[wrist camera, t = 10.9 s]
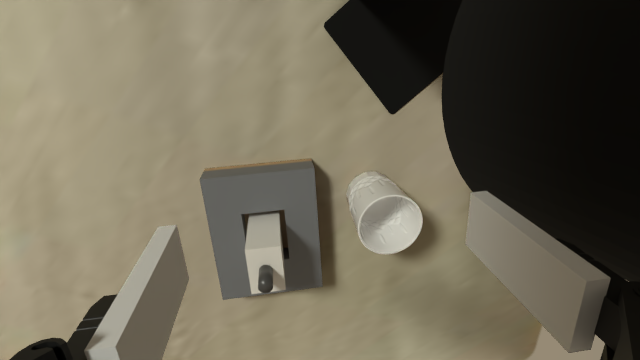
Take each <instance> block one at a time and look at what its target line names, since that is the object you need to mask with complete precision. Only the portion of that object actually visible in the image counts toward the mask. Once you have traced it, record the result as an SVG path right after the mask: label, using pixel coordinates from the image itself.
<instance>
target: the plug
mask: <svg viewBox="0 0 640 360" xmlns="http://www.w3.org/2000/svg"><path fill="white" fill-rule="evenodd" d="M245 255H246V262H247V268H248V275H249V281H250V288H251V294H258V293H269V292H273V291H281V290H286V287H285V270H284V254H283V241H282V232H281V223H280V214H279V210H277V211H268V212H258V213H249V219H248V227H247V236H246V244H245Z"/></svg>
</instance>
